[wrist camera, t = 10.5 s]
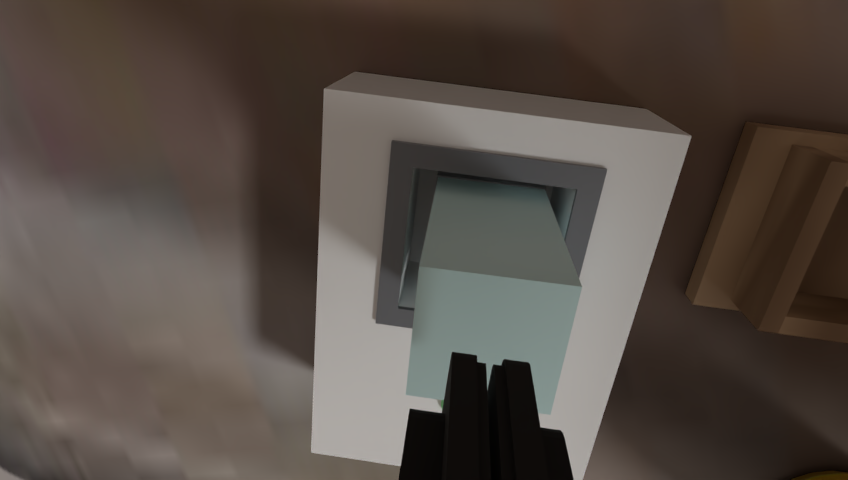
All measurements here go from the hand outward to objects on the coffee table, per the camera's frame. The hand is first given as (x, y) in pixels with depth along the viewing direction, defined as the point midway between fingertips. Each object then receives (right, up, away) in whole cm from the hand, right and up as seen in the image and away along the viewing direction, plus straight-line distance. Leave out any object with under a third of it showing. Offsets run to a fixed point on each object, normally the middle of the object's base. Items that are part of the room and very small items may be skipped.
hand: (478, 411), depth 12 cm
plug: (+1, +5, +11) cm, 13 cm away
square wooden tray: (+16, +4, +11) cm, 20 cm away
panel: (+1, +3, +14) cm, 14 cm away
